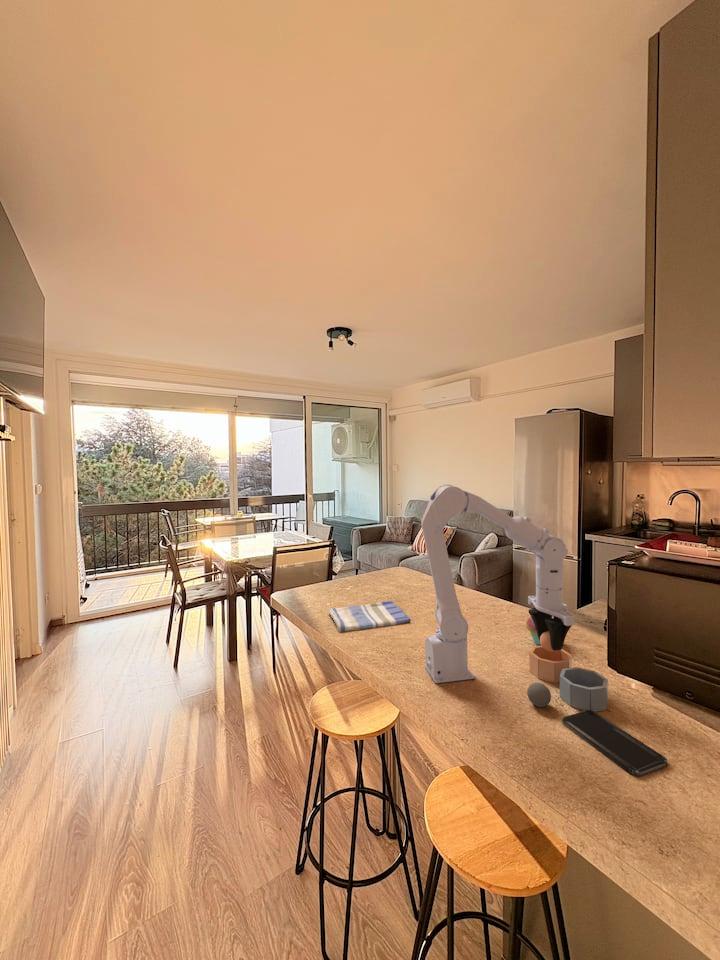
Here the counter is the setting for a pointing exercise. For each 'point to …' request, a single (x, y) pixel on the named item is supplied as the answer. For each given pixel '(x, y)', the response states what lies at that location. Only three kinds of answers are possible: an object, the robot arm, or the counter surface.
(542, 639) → the terracotta ball
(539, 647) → the terracotta octagonal bowl
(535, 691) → the charcoal ball
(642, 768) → the phone
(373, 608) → the dish towel
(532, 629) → the cupcake
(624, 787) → the counter surface
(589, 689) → the slate cup
